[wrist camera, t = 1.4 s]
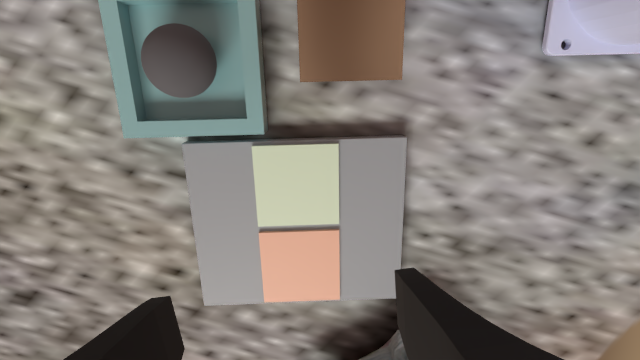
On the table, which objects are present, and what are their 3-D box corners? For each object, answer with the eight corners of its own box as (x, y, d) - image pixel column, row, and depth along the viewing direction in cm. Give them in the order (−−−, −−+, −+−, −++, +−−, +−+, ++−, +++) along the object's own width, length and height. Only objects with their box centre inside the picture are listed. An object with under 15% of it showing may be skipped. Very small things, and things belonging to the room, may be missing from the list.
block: (379, -3, 17) (406, -37, 12) (377, 80, 18) (402, 79, 13) (299, -2, 17) (295, -35, 12) (302, 81, 18) (300, 82, 13)
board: (403, 135, 19) (408, 138, 18) (396, 290, 22) (400, 300, 21) (186, 141, 19) (180, 144, 18) (207, 297, 21) (203, 307, 20)
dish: (258, -13, 17) (253, -23, 15) (268, 129, 19) (264, 134, 17) (114, -10, 16) (94, -20, 15) (139, 133, 18) (123, 138, 17)
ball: (220, 28, 16) (200, 16, 13) (227, 95, 17) (209, 98, 14) (154, 30, 16) (119, 17, 13) (164, 97, 17) (133, 100, 14)
